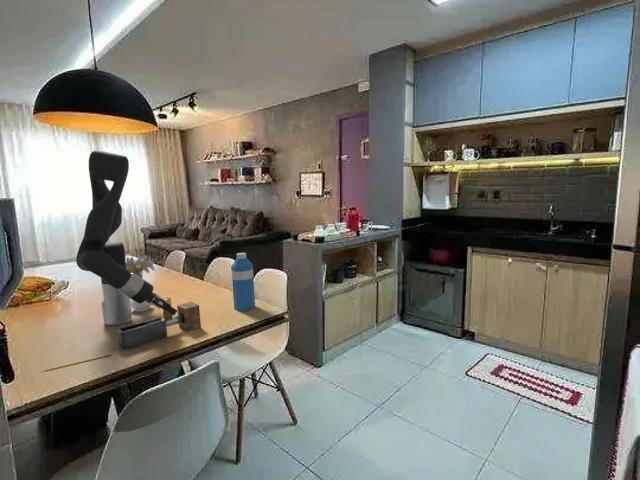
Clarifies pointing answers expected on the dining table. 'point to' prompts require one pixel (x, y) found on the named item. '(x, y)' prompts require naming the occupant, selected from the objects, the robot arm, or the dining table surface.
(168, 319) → the tube
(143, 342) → the sleeve
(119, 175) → the robot arm
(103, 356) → the pencil
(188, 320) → the socket block
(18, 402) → the dining table surface
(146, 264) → the flower vase
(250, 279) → the water bottle
